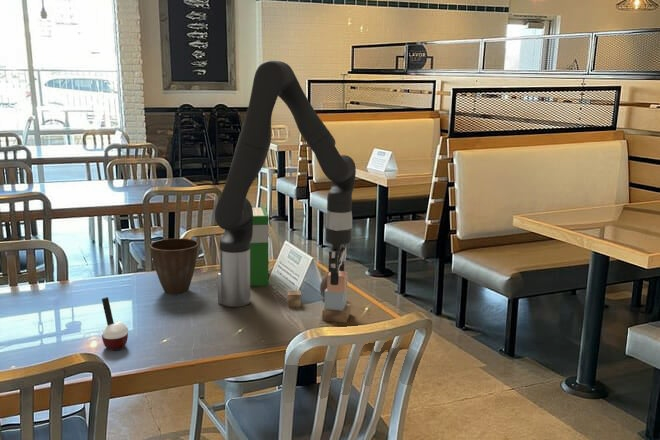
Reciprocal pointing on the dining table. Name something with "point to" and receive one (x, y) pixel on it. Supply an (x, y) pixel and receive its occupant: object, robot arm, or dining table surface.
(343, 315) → the walnut slab
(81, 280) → the dining table surface
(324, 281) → the vase
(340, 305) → the slate cube
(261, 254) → the hardback book
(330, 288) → the terracotta cube
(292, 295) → the maple block
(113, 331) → the fishing bobber
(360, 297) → the dining table surface
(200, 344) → the dining table surface
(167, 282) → the plant pot
